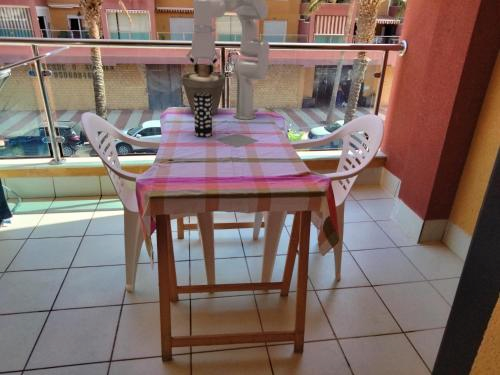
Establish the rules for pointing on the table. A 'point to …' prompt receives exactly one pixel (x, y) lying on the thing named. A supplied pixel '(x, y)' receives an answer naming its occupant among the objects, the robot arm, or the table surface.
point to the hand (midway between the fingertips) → (203, 73)
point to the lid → (203, 74)
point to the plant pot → (204, 89)
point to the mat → (236, 140)
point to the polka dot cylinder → (203, 114)
